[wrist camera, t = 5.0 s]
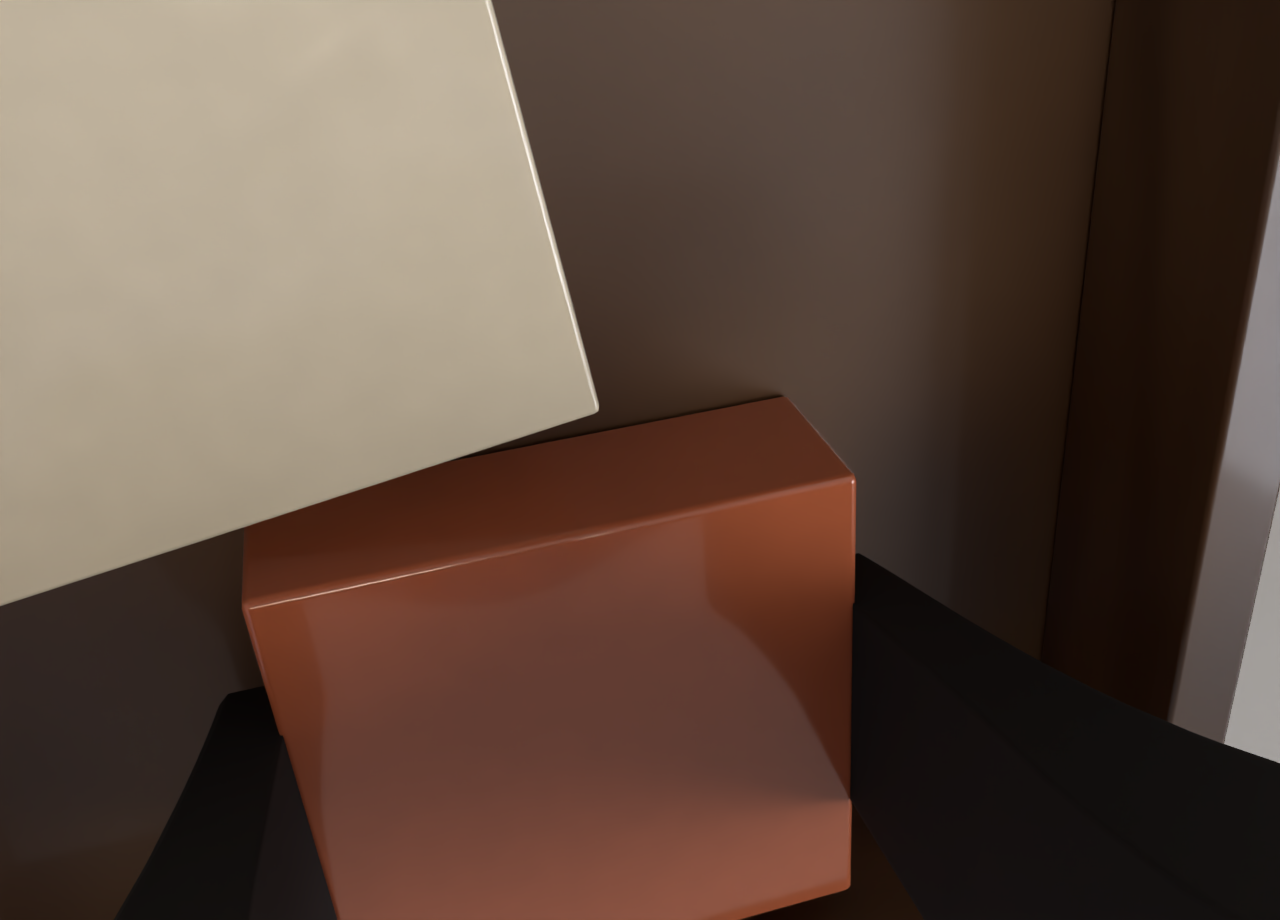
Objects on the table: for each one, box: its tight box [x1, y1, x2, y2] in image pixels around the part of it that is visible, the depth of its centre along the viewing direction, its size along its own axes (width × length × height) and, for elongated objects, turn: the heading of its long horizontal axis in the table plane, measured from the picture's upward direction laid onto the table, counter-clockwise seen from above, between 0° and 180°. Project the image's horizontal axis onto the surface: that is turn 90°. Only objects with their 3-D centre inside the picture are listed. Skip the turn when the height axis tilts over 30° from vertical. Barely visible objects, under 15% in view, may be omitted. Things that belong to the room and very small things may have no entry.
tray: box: [0, 0, 1280, 920], centre depth 11 cm, size 15×15×3 cm
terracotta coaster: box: [241, 396, 856, 920], centre depth 13 cm, size 6×6×2 cm
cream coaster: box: [0, 0, 599, 606], centre depth 9 cm, size 6×6×2 cm
